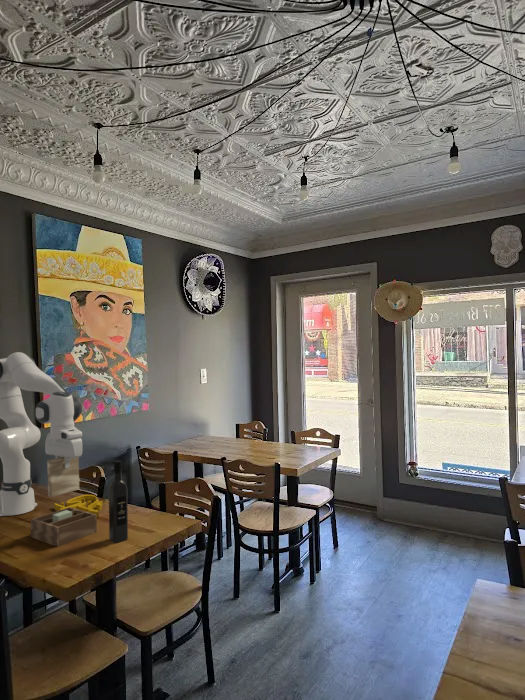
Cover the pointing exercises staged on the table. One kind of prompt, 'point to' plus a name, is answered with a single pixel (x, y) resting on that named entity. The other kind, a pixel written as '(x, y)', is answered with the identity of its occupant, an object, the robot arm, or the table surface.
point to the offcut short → (61, 515)
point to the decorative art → (82, 504)
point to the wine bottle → (118, 506)
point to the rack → (63, 527)
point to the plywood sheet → (62, 476)
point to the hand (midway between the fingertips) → (63, 467)
